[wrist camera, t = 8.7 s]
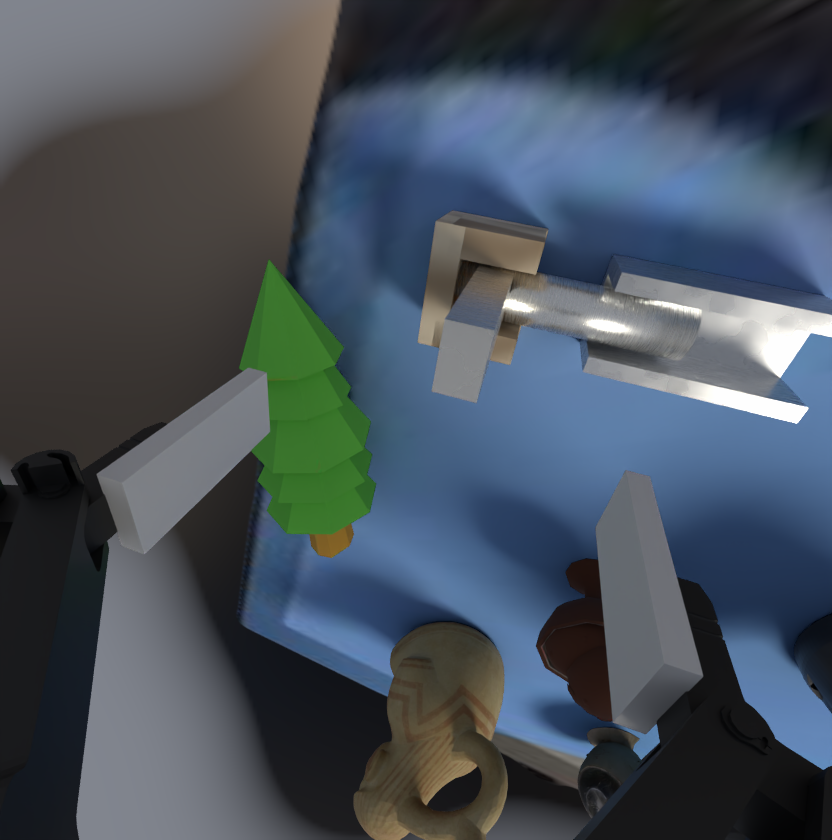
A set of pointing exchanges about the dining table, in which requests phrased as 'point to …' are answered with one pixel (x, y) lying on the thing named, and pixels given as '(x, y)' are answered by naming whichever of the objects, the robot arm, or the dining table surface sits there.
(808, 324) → the channel
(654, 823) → the robot arm
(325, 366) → the decorative tree
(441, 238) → the socket
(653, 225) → the dining table surface
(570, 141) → the dining table surface
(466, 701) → the ceramic vessel
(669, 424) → the dining table surface
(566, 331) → the shiny silver metal piece
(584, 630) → the ice cream bowl
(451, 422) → the dining table surface
